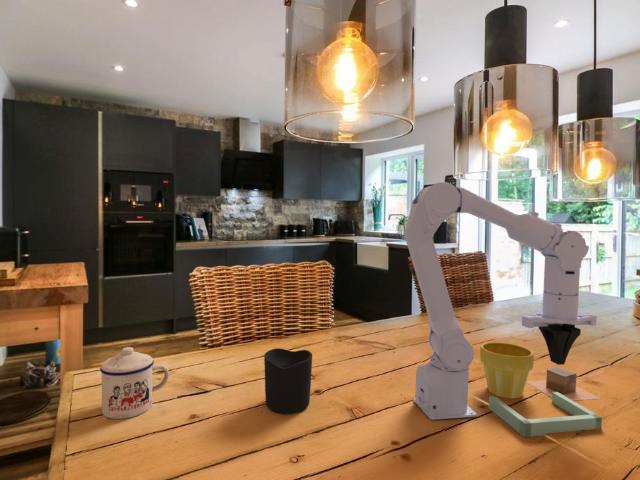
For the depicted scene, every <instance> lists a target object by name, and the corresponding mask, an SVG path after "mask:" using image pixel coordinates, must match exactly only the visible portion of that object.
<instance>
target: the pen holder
mask: <svg viewBox="0 0 640 480" xmlns="http://www.w3.org/2000/svg"><path fill="white" fill-rule="evenodd" d="M263 355H264V356H263V357H264V361H263V362H264V363H263V364H264V393H265V405H266V407H267V408H268V410H270V411H271V412H273V413H275V414H280V415H295V414H298V413H301V412H303V411H305V410H306V409H307V408H308V407H309V405H310V398H311V387H312V386H311V385H312V384H311V383H312V365H313V353H312V352H311V351H310V350H307V349H300V350H295V351H291V350H288V349H286V348H280V347H279V348H277V347H276V348H272V349H270V350H267V351H266V352H265V353H264V354H263Z"/></svg>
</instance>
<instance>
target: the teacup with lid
mask: <svg viewBox="0 0 640 480" xmlns="http://www.w3.org/2000/svg"><path fill="white" fill-rule="evenodd" d="M99 370H100V372H101V413H102V416H105V417H106V418H108V419H113V420H120V419H121V420H123V419H129V418H133V417H136V416H139V415H141V414H144V413H145V412H147V411H148V410H149V409H150V408H151V407H152V405H153V392H156V391H159V390H161V389H162V388H163V387H164V386H165V385H166V384H167V382H168V380H169V377H170V376H169V375H170V371H169V369H168V367H167V366H166V365H164V364H154V358H153V357H152V356H151V355H149V354H146V353H142V352H137V351H134V348H133V347H131V346H126V347H123V348H122V349H121V352H120V353H118V354H116V355H115V356H112V357H109V358H107V359H106V360H105V361H103V362H102V364H101V365H100V368H99ZM157 370H162V371H164V377H163V379H162V380H161V382H160V383H158V384H157V385H155V386H153V371H157Z"/></svg>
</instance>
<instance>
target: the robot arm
mask: <svg viewBox="0 0 640 480" xmlns="http://www.w3.org/2000/svg"><path fill="white" fill-rule="evenodd" d="M453 214H468V215H472V216H474V217H477V218H479V219H481V220H484V221H486V222H489V223H491V224H494V225H496V226H499V227H501V228H504V229H505V230H506V233H507V236H508V238H510V239H511V240H513V241H515V242H517V243H520V244H522V245H525V246H527V247H529V248H532V249H533V250H535V251H538V252H540V254H542V256H543V257H544V272H543V289H542V290H543V293H542V295H543V296H542V312H538V313H533V314H527V315H522V316H521V317H522V318H521V326H523V327H525V328H527V329H533V328H536V327H537V328H538V329H539V331H540V333H541V335H542V337H543V339H544V340H545V344H546V347H547V350H548V355H549V358H550V359H549V360H550V362H551V363H554V364H555V365H557V366H558V365H559V366H560V365H565V363H566V360H567V358H568V355H569V353H570V351H571V349H572V346H573V344H574V343H575V341H576V340H577V339H578V338H579V336H581V333H582V331H581V328H578V327H576V326H588V325H589V326H592V327H593V326H597V318H598V316H597V315H596V314H591V313H590V312H589V313H586V312H585V313H583V312H582V313H579V291H580V275H581V273H580V271H581V268H582V262H583V259H585V257H586V256H587V254H588V253H589V250H590V247H589V245H587V243H586V240H585V238H584V237H583V235H582V234H581V233H580V232H578V231H575V230H569V229H568V230H565V229H564V230H563V228H562V224H561V223H558V222H553V223H552V222H550V221H548V220H546V219H543V218H541V217H539V215H540V213H539V212H537V211H534V210H530V211H529V212H528V211H525V210H524V211H519V212H517V213H514V212H512V211H510V210H508V209H506V208H504V207H502V206H501V205H498V204H497V203H494V202H492V201H490V200H488V199H487V198H485V197H483V196H481V195H478V194H477V193H474V192H473V191H470V190H468V189H466V188H464V187H461V186H455V185H454V184H452V183H450V182H447V181H446V182H445V181H439V182H436V183H434V184H432V185H428V186H426V187H424V188H422V189H420V191H419V192H418V194H417V195H416V196H415V197H414V199H413V200H412V201H411V206H410V210H409V215H408V217H407V220H406V224H405V227H404V233H403V234H404V239H405V241H406V245H407V248H408V252H409V255H410V259H411V262H412V265H413V269H414V272H415V276H416V278H417V282H418V286H419V289H420V293H421V295H422V300H423V302H424V306H425V309H426V313H427V316H428V326H429V335H428V343H429V346H430V348H431V350H432V351H433V353H432V354H431V356H430V358H429V359H430V360H429V362H427V363H425V364H421V365H418V366H417V368H416V373H415V397H413V401H414V403H415V404H416V405H417V406H418V407H419V408H420V409H421V411H422V412H423V413H424V414H425V416H427V417H428V419H430V420H431V421H434V420H435V421H436V420H449V419H460V418H461V419H462V418H475V417H477V414H478V413H477V412H475V411H474V410H473V409H472V408H471V407H470V406H469V405H468V401H469V398H468V395H469V376H470V375H469V373H470V365H471V364H472V363H473V360H474V358H475V357H474V356H475V352H474V351H475V350H474V347H473V345H472V344H471V343H470V342H469V341H468V340H467V338H466V336H465V335H464V332H463V329H462V327H461V325H460V322H459V321H458V319H457V316H456V314H455V311H454V307H453V304H452V301H451V297H450V294H449V291H448V287H447V284H446V283H447V282H446V280H445V278H444V277H445V276H444V274H443V270H442V266H441V263H440V259H439V257H438V253H437V249H436V246H435V243H434V239H433V238H434V235H435V233H436V232H437V230H438V229H439V227H440V226H441V224H442V223H443V222H444V221H445V220H447V219H448V218H449V217H451V216H452V215H453Z"/></svg>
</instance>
